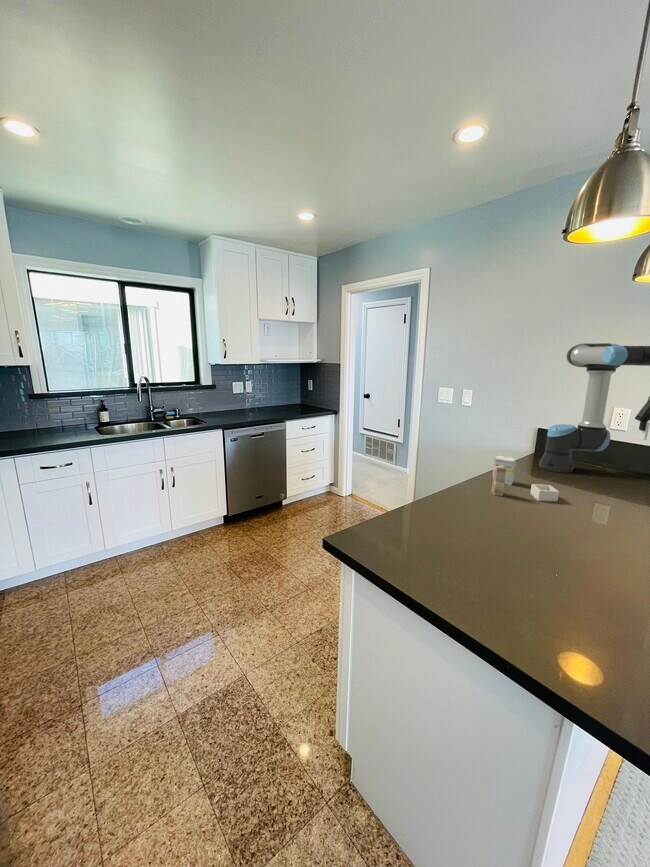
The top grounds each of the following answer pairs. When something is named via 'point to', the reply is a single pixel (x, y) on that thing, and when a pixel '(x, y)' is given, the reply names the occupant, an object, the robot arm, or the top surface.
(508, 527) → the top surface
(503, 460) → the ink box
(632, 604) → the top surface
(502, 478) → the tan wooden block
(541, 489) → the white square open box
